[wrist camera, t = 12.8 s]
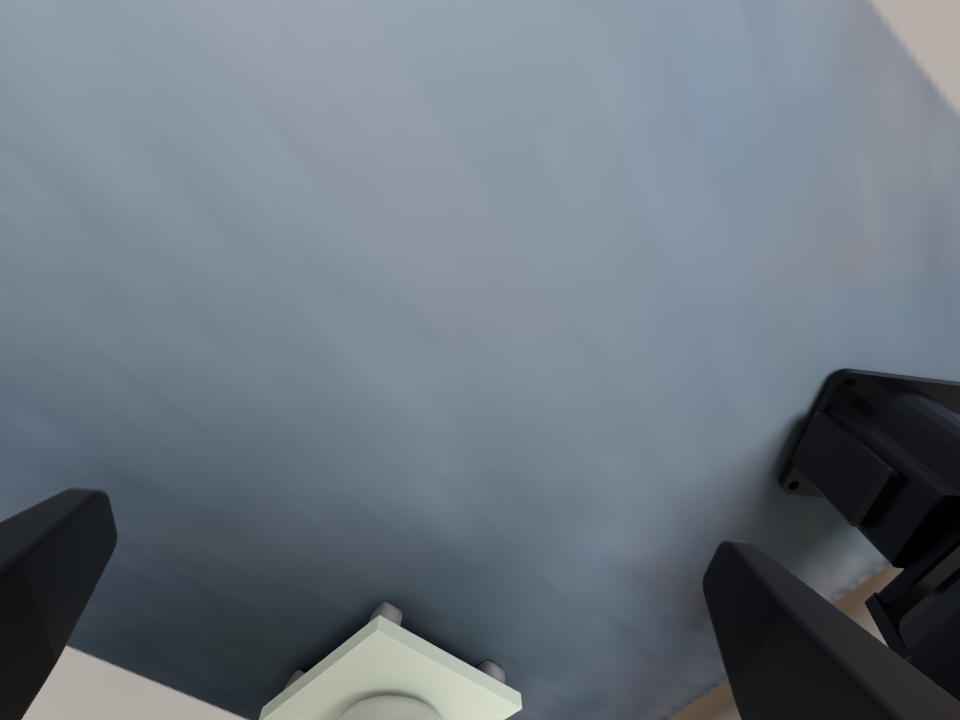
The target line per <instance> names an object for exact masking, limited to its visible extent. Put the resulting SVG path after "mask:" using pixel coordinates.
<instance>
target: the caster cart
mask: <svg viewBox="0 0 960 720" xmlns="http://www.w3.org/2000/svg"><path fill="white" fill-rule="evenodd" d="M401 621H402V611H401V610H400V609H398V608H396V607H395V606H393V605H391V604H389V603H388V602H382V603H380V604H379V605H378V606H377V607H376V609H375V610H374V612H373V613H372V615H371V617H370V620H369V623H368V624H367V625H366V626H365V627H363V628H362V629H361V630H360V631H358V632H357V633H356V634H354V635H353V636H352V637H351V638H349V639H348V640H347V641H346V642H344V643H343V644H342V645H341V646H339V647H338V648H337V649H336V650H334V651H333V652H332V653H331V654H329V655H328V656H327V657H325V658H324V659H323V660H322V661H320V662H319V663H318V664H317V665H315V666H314V667H313V668H312V669H310V670H309V671H308V672H307V673H305V672H303V671H300V670H297V671H296V672H295V673H294V674H293V675H292V676H291V677H290V679H289V680H288V682H287V684H286V686H285V688H284V691H283V692H281V693H280V694H279V695H278V696H276V697H275V698H274V699H273V700H271V701H270V702H269V703H268V704H266V705H265V706H264V707H263V708H262V711H261V714H260V717H259V720H338V719H339V718H340V717H341V716H342V714H343V713H344V712H345V711H346V710H347V709H348V708H349V707H350V706H352V705H353V704H355V703H357V702H359V701H361V700H364V699H367V698H371V697H376V696H385V695H387V696H402V697H408V698H412V699H416V700H418V701H420V702H423V703H425V704H426V705H428V706H430V707H431V708H432V709H433V710H434V711H436V712H437V714H438V715H439V717H440V719H441V720H505V719H506V718H508V717H510V716H511V715H513V714H514V713H516V712H518V711H519V710H521V709H522V702H521V693H519V692H517V691H515V690H514V689H512V688H510V687H508V686H506V685H505V672H504V670H503V668H502V667H500V666H498V665H496V664H495V663H493V662H491V661H489V660H485V661H483V662H482V663H481V664H480V665H479V666H478V668H477V669H476V668H474V667H472V666H470V665H469V664H467V663H465V662H463V661H461V660H460V659H458V658H456V657H454V656H452V655H451V654H449V653H447V652H445V651H443V650H442V649H440V648H438V647H436V646H434V645H433V644H431V643H429V642H427V641H425V640H424V639H422V638H420V637H418V636H416V635H415V634H413V633H411V632H409V631H407V630H406V629H404V628H402V627H400V625H401Z"/></svg>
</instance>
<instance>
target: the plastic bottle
mask: <svg viewBox="0 0 960 720" xmlns="http://www.w3.org/2000/svg"><path fill="white" fill-rule="evenodd" d="M338 720H441V719H440V717H439V715H438V714H437V712H436V711H434V710H433V709H432V708H431V707H430V706H428V705H426V704H425V703H423V702H420V701H418V700H416V699H412V698H408V697H402V696H387V695H385V696H376V697H371V698H367V699H364V700H361V701H359V702H357V703H355V704H353V705H352V706H350V707H349V708H348V709H347V710H346V711H345V712H344V713H343V714H342V716H341V717H340V718H339V719H338Z"/></svg>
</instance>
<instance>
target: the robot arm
mask: <svg viewBox="0 0 960 720" xmlns="http://www.w3.org/2000/svg"><path fill="white" fill-rule="evenodd" d="M847 379H848V380H847ZM845 380H847V382H845V383H844V381H845ZM791 482H792V483H791ZM778 483H779V486H780V487H781V488H782V489H783V490H784V491H785V492H786V493H789V494H798V495H808V496H819V497H825V498H826V500H827V501H828V502H829V503H830V504H831V505H832V506H833V507H834V508H835V509H836V510H837V511H838V512H839V514H840V515H841V516H842V517H843V518H844V519H845V520H846V521H847V522H848V523H849V524H850V525H851V526H853V527H857V529H858V530H859V531H860V532H861V533H862V534H863V535H864V536H865V537H866V538H867V539H868V540H869V541H870V542H871V544H872V545H873V546H874V547H875V548H876V549H877V550H878V551H879V552H880V553H881V554H882V555H883V556H884V557H885V558H886V560H887V561H888V562H889V563H890V564H891V565H892V566H893V567H896V568H904V570H903V571H902V572H901V573H900V574H899V575H897V576H896V577H895V578H894V579H893V580H892V581H891V582H890V583H889V584H888V585H887V586H885V587H884V588H883V589H882V590H881V591H880V592H879V593H874V594H872V595H871V596H870V597H869V598H868V599H867V600H866V601H865V604H866V606H867V608H868V610H869V612H870V614H871V616H872V617H873V619H874V621H875V623H876V625H877V627H878V629H879V631H880V632H881V634H882V636H883V638H884V640H885V642H886V643H887V645H888V647H889V648H888V647H887V646H886V645H885V644H883V643H882V642H881V641H879V640H878V639H877V638H875V637H874V636H873V635H871V634H870V633H869V632H867V631H866V630H865V629H864V628H862V627H861V626H860V625H858V624H857V623H856V622H854V621H853V620H852V619H850V618H849V617H848V616H847V615H845V614H844V613H843V612H841V611H840V610H838V609H837V608H836V607H835V606H833V605H832V604H831V603H830V602H828V601H827V600H826V599H824V598H823V597H822V596H820V595H819V594H818V593H816V592H815V591H814V590H813V589H811V588H810V587H809V586H807V585H806V584H805V583H803V582H802V581H801V580H799V579H798V578H797V577H796V576H794V575H793V574H792V573H790V572H789V571H788V570H786V569H785V568H784V567H782V566H781V565H780V564H778V563H777V562H776V561H775V560H773V559H772V558H771V557H769V556H768V555H767V554H765V553H764V552H763V551H761V550H760V549H759V548H758V547H756V546H755V545H753V544H752V543H750V542H746V541H736V540H724V541H722V542H721V543H720V544H719V545H718V547H717V549H716V551H715V553H714V555H713V557H712V559H711V561H710V563H709V565H708V567H707V569H706V571H705V574H704V577H703V592H704V596H705V600H706V603H707V607H708V610H709V614H710V618H711V621H712V625H713V628H714V632H715V636H716V639H717V643H718V646H719V650H720V653H721V657H722V661H723V664H724V668H725V671H726V675H727V678H728V682H729V685H730V688H731V691H732V694H733V697H734V700H735V703H736V706H737V708H738V711H739V714H740V717H741V719H742V720H960V382H954V381H946V380H938V379H930V378H921V377H913V376H905V375H897V374H889V373H881V372H873V371H865V370H856V369H842V370H839V371H838V372H836V373H835V374H834V375H833V377H832V378H831V380H830V382H829V384H828V386H827V388H826V390H825V392H824V394H823V396H822V397H821V399H820V401H819V403H818V405H817V407H816V409H815V411H814V413H813V415H812V417H811V419H810V421H809V422H808V424H807V426H806V428H805V430H804V432H803V434H802V436H801V438H800V440H799V442H798V444H797V445H796V447H795V449H794V451H793V453H792V455H791V457H790V459H789V461H788V463H787V465H786V467H785V468H784V470H783V472H782V474H781V476H780V478H779V481H778ZM116 542H117V530H116V525H115V521H114V516H113V512H112V507H111V503H110V499H109V496H108V494H107V493H106V492H105V491H103V490H100V489H88V488H70V489H67V490H65V491H63V492H61V493H59V494H57V495H55V496H52V497H50V498H48V499H46V500H44V501H42V502H40V503H38V504H36V505H34V506H32V507H30V508H28V509H26V510H24V511H22V512H20V513H18V514H16V515H14V516H12V517H10V518H8V519H6V520H4V521H2V522H0V720H21V719H22V718H23V716H24V714H25V713H26V711H27V710H28V708H29V706H30V705H31V703H32V702H33V700H34V699H35V697H36V695H37V694H38V692H39V691H40V689H41V688H42V686H43V684H44V683H45V681H46V679H47V678H48V676H49V675H50V673H51V671H52V669H53V668H54V666H55V664H56V663H57V661H58V659H59V657H60V656H61V654H62V652H63V650H64V648H65V646H66V644H67V643H68V641H69V639H70V637H71V635H72V633H73V631H74V629H75V627H76V625H77V623H78V621H79V619H80V617H81V615H82V613H83V611H84V609H85V607H86V605H87V603H88V601H89V599H90V597H91V595H92V593H93V591H94V589H95V587H96V585H97V583H98V581H99V579H100V577H101V575H102V573H103V571H104V569H105V567H106V565H107V563H108V561H109V559H110V557H111V555H112V553H113V551H114V549H115V546H116Z"/></svg>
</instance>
